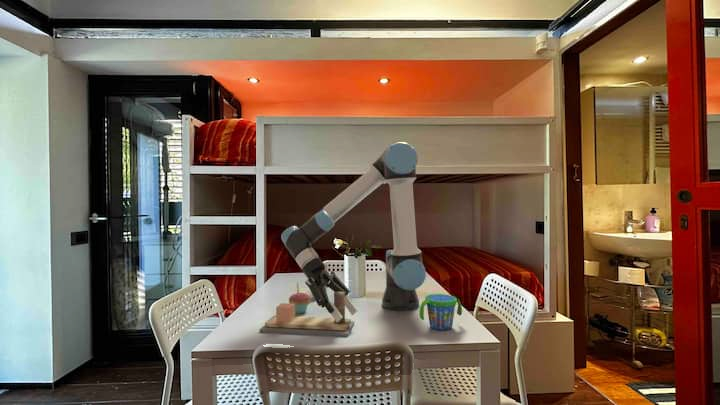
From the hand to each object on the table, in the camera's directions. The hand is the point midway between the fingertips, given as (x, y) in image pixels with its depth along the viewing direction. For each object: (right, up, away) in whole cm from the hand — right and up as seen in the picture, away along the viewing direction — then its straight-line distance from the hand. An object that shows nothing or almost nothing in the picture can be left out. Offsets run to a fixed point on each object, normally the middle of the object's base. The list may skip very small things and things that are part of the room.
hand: (347, 316), depth 125 cm
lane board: (-14, -5, +4) cm, 15 cm away
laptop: (-19, -5, +49) cm, 53 cm away
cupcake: (-20, -5, +23) cm, 31 cm away
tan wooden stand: (-14, -4, +4) cm, 15 cm away
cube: (-22, -3, +5) cm, 22 cm away
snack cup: (+32, -5, +4) cm, 33 cm away
